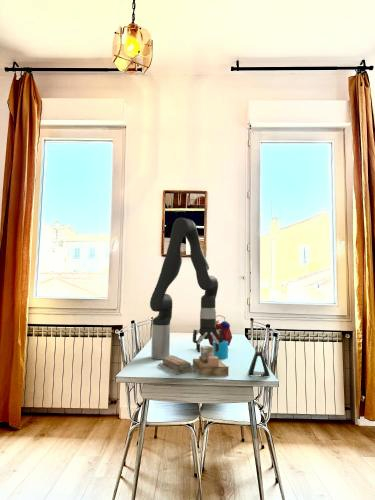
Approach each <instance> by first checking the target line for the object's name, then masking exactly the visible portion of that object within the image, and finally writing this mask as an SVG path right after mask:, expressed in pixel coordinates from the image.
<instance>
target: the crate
mask: <svg viewBox="0 0 375 500" xmlns="http://www.w3.org/2000/svg"><path fill="white" fill-rule="evenodd" d="M219 360H220V359H219V358H218V357H217V356H208V366H209V367H219Z"/></svg>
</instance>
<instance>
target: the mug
mask: <svg viewBox="0 0 375 500" xmlns="http://www.w3.org/2000/svg"><path fill="white" fill-rule="evenodd" d="M215 343H216V342H215V341H213V346H212V347H214V356H217V357H218V358H219V360H226V359H228V358H229V346H228V341H223V342H222V343H219V350H218V352H215Z"/></svg>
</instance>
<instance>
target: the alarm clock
mask: <svg viewBox="0 0 375 500" xmlns="http://www.w3.org/2000/svg"><path fill="white" fill-rule="evenodd" d="M217 317H222V318H223V321H222V322H221V323H220V322H219V321H220V320H219V319H218V320H216V330H219V329H221V330H222V335H223V341H228V347H229V346H230V345H231V341H232V340H233V335H232V332H231V326H230V325H231V324H230V323H229V322H228V321H227V320H225V319H226V317H225V316H223V315H220V314H219V315H216V318H217ZM215 337H216V338H217V340H219V334H218V333H216V334H215ZM207 340H208V344H209V346H212V347H213V341H214V340H213V338H212V339H207Z"/></svg>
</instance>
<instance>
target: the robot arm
mask: <svg viewBox="0 0 375 500" xmlns="http://www.w3.org/2000/svg"><path fill="white" fill-rule="evenodd" d="M184 237H185V238H186V240H187V242H188V244H189V246H190V251H189V253H190V255H189V257H190V260H191V263H192V265H193V268H194V270H195V275H196V281H197V284H198V286H199V288H200V289H201V290H203V291H204V294H203V295H202V296H201V297H200V310H199V312H200V313H199V329H195V328H194V329H193V332H192V343H194V344H195V345H196V348H195V350H196V351H197V353H201V342H202V341H203V340H208V339H212V338H213V340H214V341H215V342H216V343H215V352H218V350H219V343H222V342H223V335H222V330H221V329H219V330H216V321H217V317H216V316H217V312H216V298H217V294H218V290H219V281H218V279H217V277H216V276H214V275H210V274H209V269H210V266H209V262H208V261H207V258H206V256H205V253H204V251H203V248H202V244H201V241H200V237H199V233H198V230H197V225H196V223H195V222H194V221H193V220H192V219H189V218H185V217H178V218H176V219H175V220H174V222H173V224H172V228H171V232H170V238H169V243H168V247H167V250H166V253H165V257H164V260H163V261H162V262H163V263H162V266H161V270H160V274H159V277H158V278H157V279H158V280H157V283H156V285H155V287H154V290H153V291H152V294H151V297H150V300H149V308H150V309H151V311H152V312H156V313H158V314H157V315H156V316H155V317H154V318H152V331H151V333H152V338H151V354H150V355H151V359H154V360H162V359H163V358H165V357H168V356H170V347H171V346H170V344H171V343H170V342H171V341H170V340H171V339H170V337H171V335H170V334H171V320H172V316H173V298H172V296H171V295H170V294H169V293H166V292H167V290H168V288H169V286H170V285H172V283H173V281H175V280H176V279H177V277H178V275H179V273H180V270H181V267H182V263H183V258H182V250H181V249H182V248H181V247H182V243H183V240H184ZM216 333H218V334H219V340H217V338H216V337H215V334H216ZM198 334H199V335H200V336H199V337H198V339H197V335H198Z"/></svg>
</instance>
